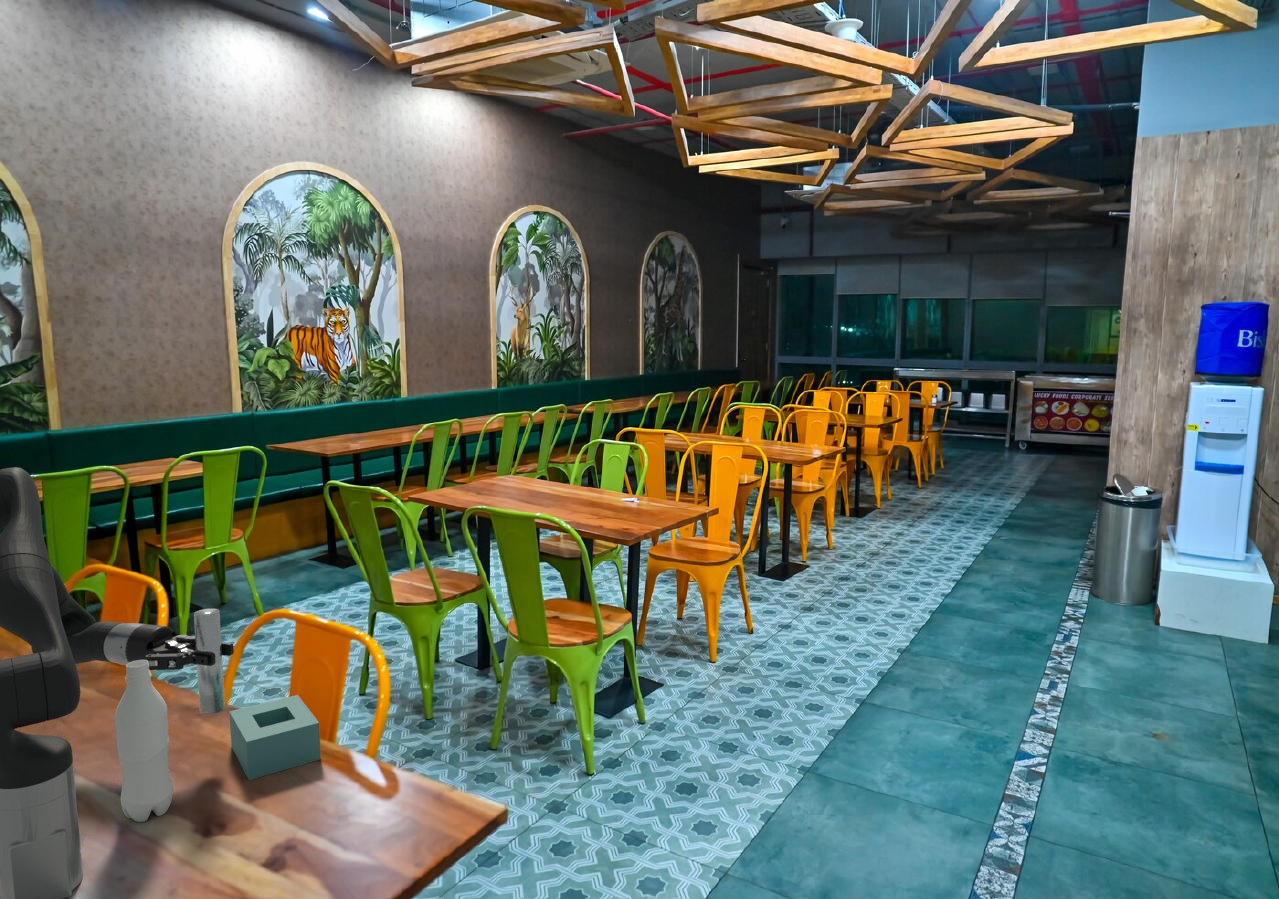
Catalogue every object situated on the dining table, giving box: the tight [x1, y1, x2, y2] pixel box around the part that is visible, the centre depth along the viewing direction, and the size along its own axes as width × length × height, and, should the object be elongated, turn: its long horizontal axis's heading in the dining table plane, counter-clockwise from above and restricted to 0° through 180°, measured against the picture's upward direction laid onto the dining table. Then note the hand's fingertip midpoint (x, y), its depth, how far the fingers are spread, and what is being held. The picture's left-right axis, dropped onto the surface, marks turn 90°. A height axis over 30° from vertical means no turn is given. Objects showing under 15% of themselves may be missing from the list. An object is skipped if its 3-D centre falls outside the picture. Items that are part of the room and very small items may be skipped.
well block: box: [229, 694, 322, 781], centre depth 150 cm, size 14×12×7 cm
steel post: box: [193, 608, 226, 715], centre depth 146 cm, size 4×4×18 cm
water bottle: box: [113, 660, 174, 823], centre depth 130 cm, size 7×7×25 cm
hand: (222, 654), depth 145 cm, fingers closed on steel post, 4 cm apart
